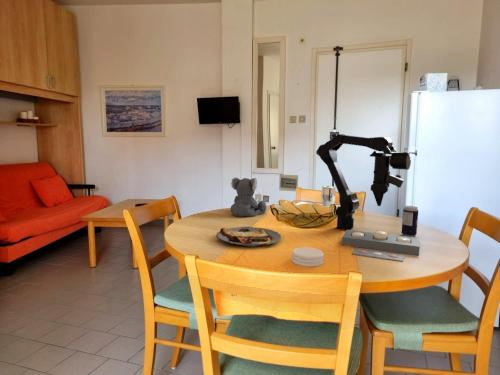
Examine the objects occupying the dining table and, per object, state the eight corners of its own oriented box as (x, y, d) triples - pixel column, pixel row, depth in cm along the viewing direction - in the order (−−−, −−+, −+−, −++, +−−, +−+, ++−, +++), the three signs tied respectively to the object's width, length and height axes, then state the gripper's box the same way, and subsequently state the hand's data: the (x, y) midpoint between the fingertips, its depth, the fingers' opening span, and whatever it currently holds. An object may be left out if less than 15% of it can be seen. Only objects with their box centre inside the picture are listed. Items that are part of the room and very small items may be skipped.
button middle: (373, 241, 128) (373, 233, 128) (374, 238, 132) (374, 230, 132) (386, 242, 126) (386, 234, 126) (386, 239, 130) (387, 232, 130)
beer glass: (318, 214, 182) (320, 186, 180) (331, 214, 183) (333, 186, 180) (322, 217, 175) (324, 187, 173) (336, 217, 176) (337, 187, 174)
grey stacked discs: (329, 263, 110) (330, 253, 110) (307, 270, 104) (307, 258, 104) (307, 254, 118) (307, 244, 118) (285, 260, 112) (285, 249, 112)
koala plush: (268, 213, 183) (269, 176, 181) (251, 219, 168) (252, 179, 165) (240, 209, 192) (240, 174, 189) (221, 215, 177) (222, 177, 174)
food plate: (218, 249, 121) (218, 239, 121) (214, 232, 144) (214, 224, 144) (287, 249, 125) (287, 239, 125) (272, 232, 148) (273, 224, 148)
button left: (350, 242, 132) (351, 234, 131) (352, 239, 136) (352, 231, 135) (362, 243, 130) (363, 235, 129) (364, 240, 134) (364, 233, 133)
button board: (341, 244, 129) (341, 237, 129) (346, 236, 140) (346, 229, 140) (418, 255, 119) (419, 246, 118) (417, 245, 130) (418, 237, 129)
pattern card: (351, 254, 119) (351, 253, 119) (354, 248, 125) (354, 247, 125) (402, 261, 112) (402, 260, 112) (402, 255, 119) (403, 254, 119)
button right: (396, 248, 125) (397, 239, 125) (396, 244, 129) (397, 236, 129) (409, 249, 123) (410, 241, 123) (409, 246, 127) (410, 238, 127)
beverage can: (417, 237, 140) (420, 208, 139) (402, 236, 141) (405, 207, 140) (414, 234, 146) (416, 206, 144) (399, 233, 147) (402, 205, 145)
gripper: (403, 170, 129) (400, 212, 131) (403, 167, 146) (400, 204, 148) (371, 169, 134) (369, 209, 136) (375, 166, 151) (373, 201, 153)
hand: (379, 205), depth 143 cm, fingers closed
